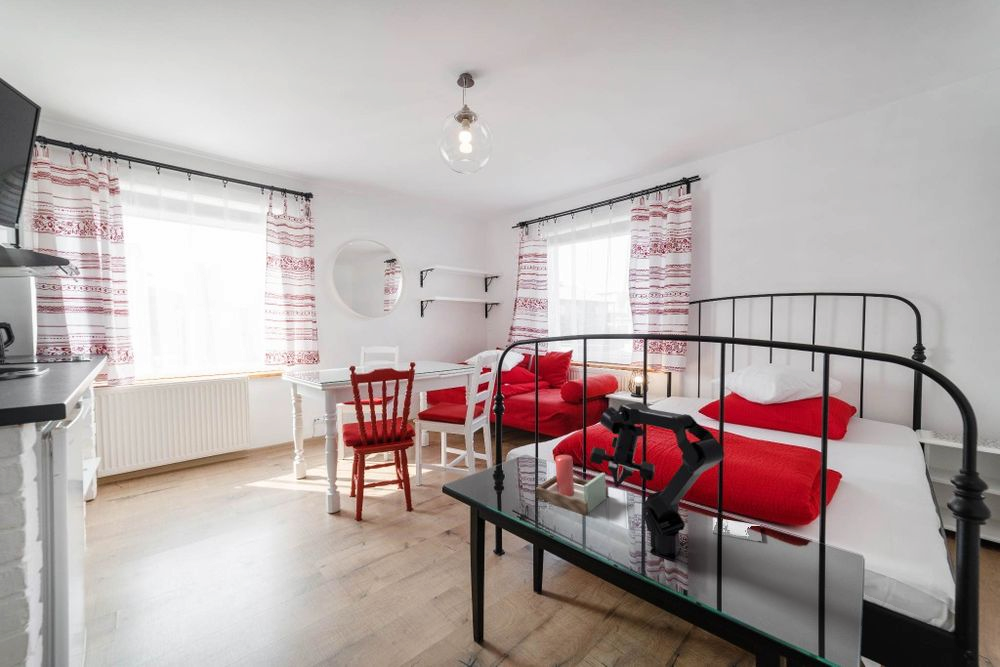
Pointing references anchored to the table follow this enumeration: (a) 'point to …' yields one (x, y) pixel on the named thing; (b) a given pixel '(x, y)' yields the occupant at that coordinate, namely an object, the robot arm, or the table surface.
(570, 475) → the pink cylinder
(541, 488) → the drawer
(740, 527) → the external hard drive
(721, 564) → the table surface
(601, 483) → the tray
